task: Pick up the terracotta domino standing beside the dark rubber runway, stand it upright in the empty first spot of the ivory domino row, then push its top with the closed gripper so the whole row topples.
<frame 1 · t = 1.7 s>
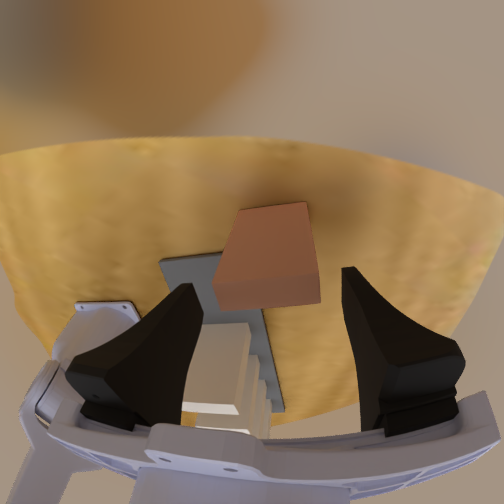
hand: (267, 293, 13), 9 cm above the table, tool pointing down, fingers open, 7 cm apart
domino 2: (225, 330, 27), resting on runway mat
domino 3: (236, 360, 29), resting on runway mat
domino 4: (245, 383, 32), resting on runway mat
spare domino: (274, 216, 21), on the table
domino 5: (253, 402, 34), resting on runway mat
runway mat: (236, 357, 30), on the table
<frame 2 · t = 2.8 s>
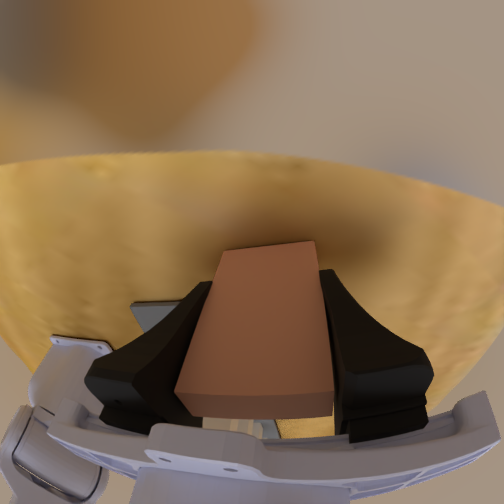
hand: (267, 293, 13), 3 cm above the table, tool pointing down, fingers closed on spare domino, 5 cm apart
domino 2: (213, 378, 22), resting on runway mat
domino 3: (228, 405, 24), resting on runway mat
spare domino: (270, 259, 16), on the table, touching gripper
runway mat: (228, 402, 25), on the table
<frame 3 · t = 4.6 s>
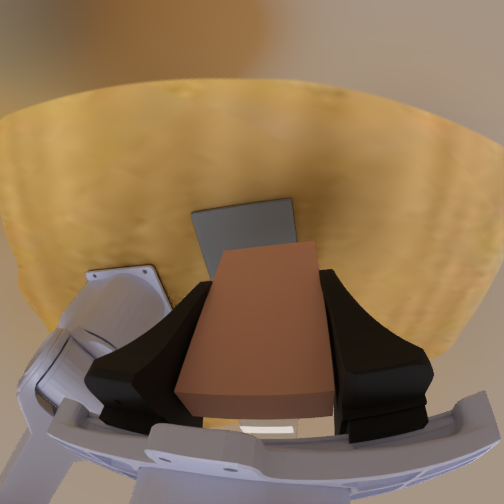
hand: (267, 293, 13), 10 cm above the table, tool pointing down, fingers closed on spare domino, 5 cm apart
domino 4: (273, 360, 30), resting on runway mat
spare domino: (270, 259, 16), point 7 cm above the table, touching gripper
domino 5: (278, 382, 33), resting on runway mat
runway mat: (267, 328, 28), on the table
when the fingers open (4 cm above the table, at t = 6.8 s): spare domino stays where it is, resting on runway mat.
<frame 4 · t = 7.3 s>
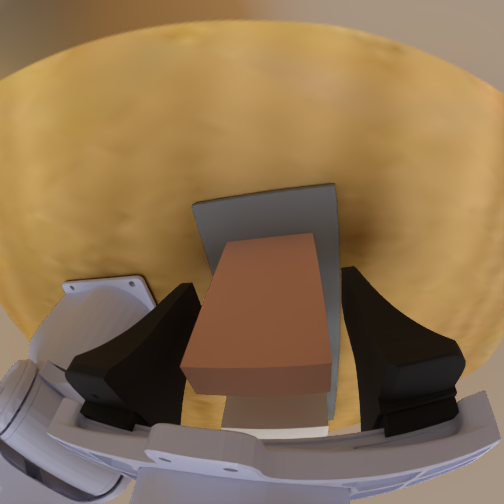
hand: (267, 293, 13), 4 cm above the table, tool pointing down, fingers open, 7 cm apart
domino 2: (282, 313, 19), resting on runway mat
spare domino: (271, 250, 16), resting on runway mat
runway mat: (289, 353, 22), on the table
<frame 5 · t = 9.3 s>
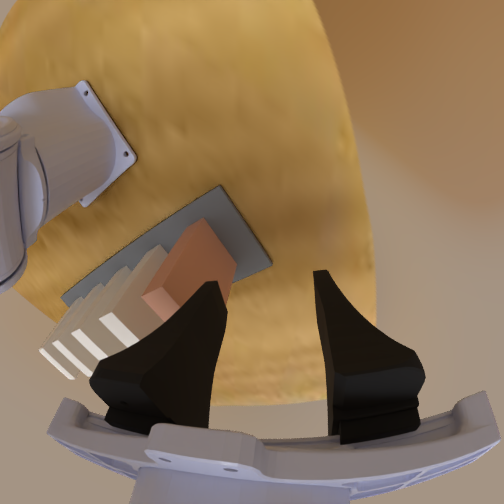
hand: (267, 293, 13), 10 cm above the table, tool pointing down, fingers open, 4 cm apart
domino 2: (169, 268, 25), resting on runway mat
domino 3: (136, 286, 27), resting on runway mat
domino 4: (111, 301, 29), resting on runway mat
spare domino: (212, 246, 23), resting on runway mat
domino 5: (91, 312, 30), resting on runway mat
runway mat: (138, 284, 27), on the table
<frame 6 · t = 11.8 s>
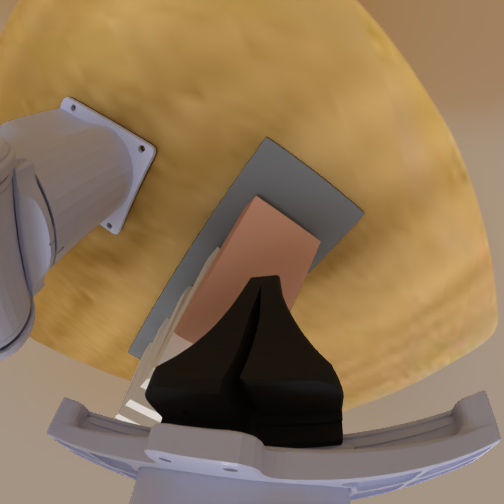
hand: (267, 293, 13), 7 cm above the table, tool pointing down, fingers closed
domino 2: (241, 271, 20), point 1 cm above the table, tilted 22°, touching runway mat
domino 3: (210, 306, 23), resting on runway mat
domino 4: (186, 335, 25), resting on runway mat
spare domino: (283, 223, 18), point 1 cm above the table, tilted 40°, touching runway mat
domino 5: (167, 357, 28), resting on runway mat
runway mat: (211, 303, 23), on the table
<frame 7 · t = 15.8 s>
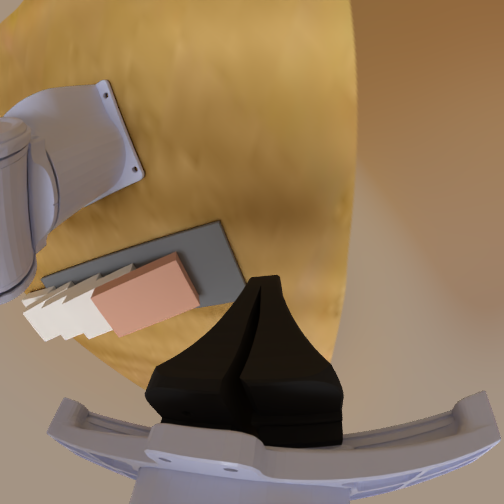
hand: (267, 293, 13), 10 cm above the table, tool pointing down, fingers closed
domino 2: (144, 288, 26), point 1 cm above the table, tilted 69°, touching domino 3, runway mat, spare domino
domino 3: (109, 295, 27), point 1 cm above the table, tilted 69°, touching domino 2, domino 4, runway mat
domino 4: (80, 300, 28), point 1 cm above the table, tilted 67°, touching domino 3, domino 5, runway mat
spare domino: (187, 278, 24), point 1 cm above the table, tilted 69°, touching domino 2, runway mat
domino 5: (61, 305, 29), point 1 cm above the table, tilted 91°, touching domino 4, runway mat
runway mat: (121, 286, 28), on the table
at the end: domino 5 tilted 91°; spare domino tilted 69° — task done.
